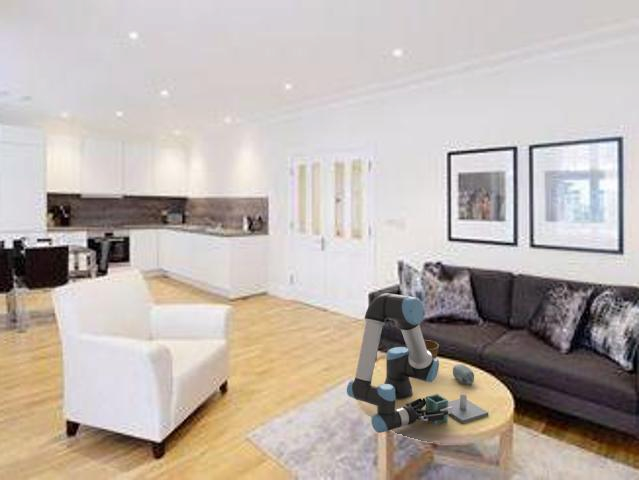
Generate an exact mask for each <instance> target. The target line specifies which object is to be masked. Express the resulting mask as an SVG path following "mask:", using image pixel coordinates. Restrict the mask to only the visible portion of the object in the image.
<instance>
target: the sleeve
mask: <svg viewBox="0 0 639 480" xmlns="http://www.w3.org/2000/svg"><path fill="white" fill-rule="evenodd" d="M425 400H426V405H425V410H426V411H440V410H441V409H444V408H447V407H448V402H449V400H448V399H447V398H446V397H444V396H442V395H441V394H438V393H437V394H432V395H428V396H425ZM448 417H449V414H448V415H444V420H437V421H430V422H431V423H432V424H434V425H435V426H436V425H440V424H443V423H447V422H448V421H449V419H448Z"/></svg>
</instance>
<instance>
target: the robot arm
mask: <svg viewBox="0 0 639 480" xmlns="http://www.w3.org/2000/svg"><path fill="white" fill-rule="evenodd" d="M424 315H425V314H424V305H423V303H422V301H421V300H420V298H418V297H414V296H410V295H403V294H402V295H401V294H397V293H396V294H394V293H390V292H388V293H387V292H386V293H381V294H379V295H377V296H376V297H375V298H374V299H372V301H371V302H370V304H369V305H368V307H367V308H366V311H365V316H364V321H365V326H364V331H363V337H362V341H361V346H360V350H359V351H360V352H359V357H358V361H357V362H358V363H357V367H356V372H355V377H354V379H352V380H350V381H349V382H348V384H347V386H346V394H347V395H348V397H350V398H352V399H353V400H355V401H361V402H364V403H367V404H370V405H373V406H376V407H377V409H376V410H377V412H376V413H375V414H373V415H372V417H371V426H372V428H373V430H374V431H375V432H376V433H378V434H380V433H381V434H382V433H385V432H386V433H387V432H389V431H392V430H394V429H398V428H402V427H405V426H410V425H413V424H415V423H417V421H418V420H420V421H421V420H422V421H423V423H425V424H426V423H429V422H431V421H437V420H444V415H448V416H449V414H450V413H452V409H453V407H452V406H451V407H447V408H444V409H441V410H440V411H426V409H423V408H424V407H426V397H425V398H424V397H422V398H421V397H420V398H417V399H415V400H413V401H411V402H409V403H406V404H405V406H402V407H397V408H396V400H404V399H408V398H411V396H413V387H412V383H411V380H410V378H412V379H415V380H419V381H423V382H425V383H434V382H435V380H436V378H437V376H438V373H439V369H440V368H439V367H440V361H439V359H437V357H436V358H435V359H434V358H432V355H431V353H430V352H429V351H427V349H426V345H425V342H424V340H425V339H424V336H423V333H422V329H421V326H420V324H421V323H422V321H423V318H424ZM387 320H388V321H389V320H390V321H393V322H394V323H395V324H394V325H396V327H397V328H398V329H399V330H400V331H401V333H402V336H403V339H404V342H405V343H404V344H405V345H406V347H404V346H397V347H392V348H390V349H388V350H387V352H386V359H385V360H386V361H385V363H386V368H385V370H386V373H385V374H386V377H385V381H384V383H381V384H379V385H378V386H375V385H372V379H373V375H374V369H375V364H376V360H377V359H376V358H377V354H378V349H379V346H380V345H379V344H380V339H381V334H382V329H383V326H384V325H385V324H386V323H387Z"/></svg>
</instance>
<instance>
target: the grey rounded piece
mask: <svg viewBox="0 0 639 480" xmlns="http://www.w3.org/2000/svg"><path fill="white" fill-rule="evenodd" d="M452 375H453V377H454V378H455V379H456V381H459V382H460V383H462V384H464V385H469V386H470V385H472V384H473V383H474V381H475V373H474V372H473V370H472V369H471V368H470V367H468V366H466V365H464V364H459V363H458V364H455V365H454V366H453V368H452Z"/></svg>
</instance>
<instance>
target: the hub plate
mask: <svg viewBox="0 0 639 480" xmlns="http://www.w3.org/2000/svg"><path fill="white" fill-rule="evenodd" d="M467 398H468V396H467V394H466V393H464V392H463V393H460V395H459V398H457V399H454V400H449V401H448V407H451V406H452V407H453V409H452V413H450V414H448V416H450V417H451V418H453V419H454V420H456V421H457V422H459V423H461V424H465V423H469V422H471V421H476V420H478V419H481V418H484V417H488V416H489V412H488V411H487V410H485V409H484V408H482V407H481V406H479V405H477V404H475V403H473V402H471V401H470V400H468V399H467Z"/></svg>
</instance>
